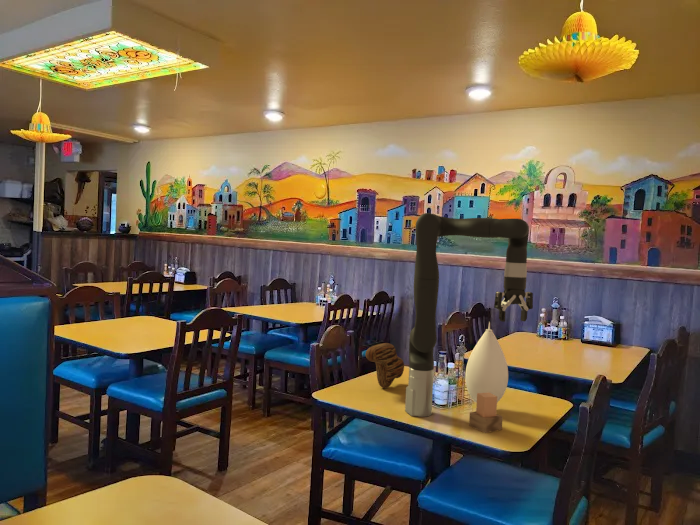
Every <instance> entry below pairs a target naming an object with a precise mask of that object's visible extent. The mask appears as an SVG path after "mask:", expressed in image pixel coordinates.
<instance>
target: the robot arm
mask: <svg viewBox="0 0 700 525" xmlns="http://www.w3.org/2000/svg"><path fill="white" fill-rule="evenodd" d="M529 227H530V226H529V224H528V223H527V221H525V220H523V218H495V217H471V218H468V217H467V218H451V217H445V216H440V215H437V214H434V213H430V212H424V213H423V214H421V215H420V216H418V218H417V220H416V221H415V241H416V255H415V260H414V261H415V262H414V274H413V299H414V300H413V301H414V308H415V321H414V327H413V328H412V329H411V331H410V332H409V339H408V340H409V341H408V342H409V344H408V362H409V363H408V364H409V365H408V382H407V383H408V384H407V385H408V386H406V387H405V401H404V402H405V404H404V405H405V406H404V408H405V409H404V411H405V412H406V414H408V415H409V416H411V417H420V418H421V417H423V418H425V417H429V416H431V415H432V414H433V413H432V412H433V411H432V410H433V395H434V394H433V393H434V392H433V391H434V371H435V369H434V368H435V361H434V360H435V359H434V348H435V346H436V344H437V342H438V341H437V327H436V326H437V325H436V324H437V323H436V321H437V320H436V315H437V314H436V313H437V307H438V298H439V286H440V271H439V270H440V269H439V262H438V259H437V258H438V257H437V244H438V238H440V237H447V236H448V237H449V236H461V237H471V238H484V239H485V238H486V239H487V238H490V239H493V238H494V239H495V238H503V239H508V240H507V249H506V252H505V256H506V257H505V266H504V273H503V274H504V278H503V292H501V291H496V292H495V294H494V295H495V296H494V305H493V307H494V309H496V310H498V320H499V321H500V322H503V323H505V321H506V313H507V312H506V310H507V309H508V307H510V306H511V305H518V306H519V308H520V309H521V310H520V321H521V322H526V320H527V319H528V311H529V310H532V309H533V308H534V293H533V292H531V291H526V288H527V273H528V271H527V270H528V267H527V260H528V242H529V233H530V228H529Z"/></svg>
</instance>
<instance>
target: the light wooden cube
mask: <svg viewBox="0 0 700 525" xmlns="http://www.w3.org/2000/svg"><path fill="white" fill-rule="evenodd" d="M497 406H498V402H497V396H495V395H493V394H491V393H477V403H476V407H475V411H476V413H478V414H479V415H481V416H483V417H492V416H496V414H497V408H498V407H497Z"/></svg>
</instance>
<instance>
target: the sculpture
mask: <svg viewBox="0 0 700 525" xmlns="http://www.w3.org/2000/svg"><path fill="white" fill-rule="evenodd" d="M364 354H365V357H366V359H367V360H368V361H369V362H373V363H375V367H376V368H375V371H376V378H377V383H378V385H379V386H380V388H382V389H388V388H390V387H391V385H392V384H393V382H394V381H395V379H399V378H401V377H402V376H403V373H404V370H405V363H404V360H403V359H402V357H399V356H398V354H397V350H396V347H395V346H394V345H393V344H391V343H388V342H385V343H378V344H374V345H372V346H369V347H368V348H367V349H366V351H365V353H364Z"/></svg>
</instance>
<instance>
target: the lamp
mask: <svg viewBox="0 0 700 525" xmlns="http://www.w3.org/2000/svg"><path fill="white" fill-rule="evenodd" d="M464 376H465V387H466V389H467V392H468V395H469V396H470V398H471V399H472V401H473V402H475V403H476V404H477V393H491V394H493V395H495V396H497V403H498V402H499V401H501V399H502V398H503V397H504V395H505V393H506V392H507V391H506V390H507V388H508V382H509V368H508V362H507V359H506V357H505V353H504V351H503V349H502V347H501V345H500V343H499V340H498V339H497V337H496V335H495V333H494V332H493V329H491V322H490V321H488V328H486V329H485V331H484V333H483V334H482V335H481V337H480V338H479V339H478V340H477V343H476V344H475V346H474V347H473V349H472V351H471V353H470V355H469V357H468V360H467V363H466V367H465V374H464Z"/></svg>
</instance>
